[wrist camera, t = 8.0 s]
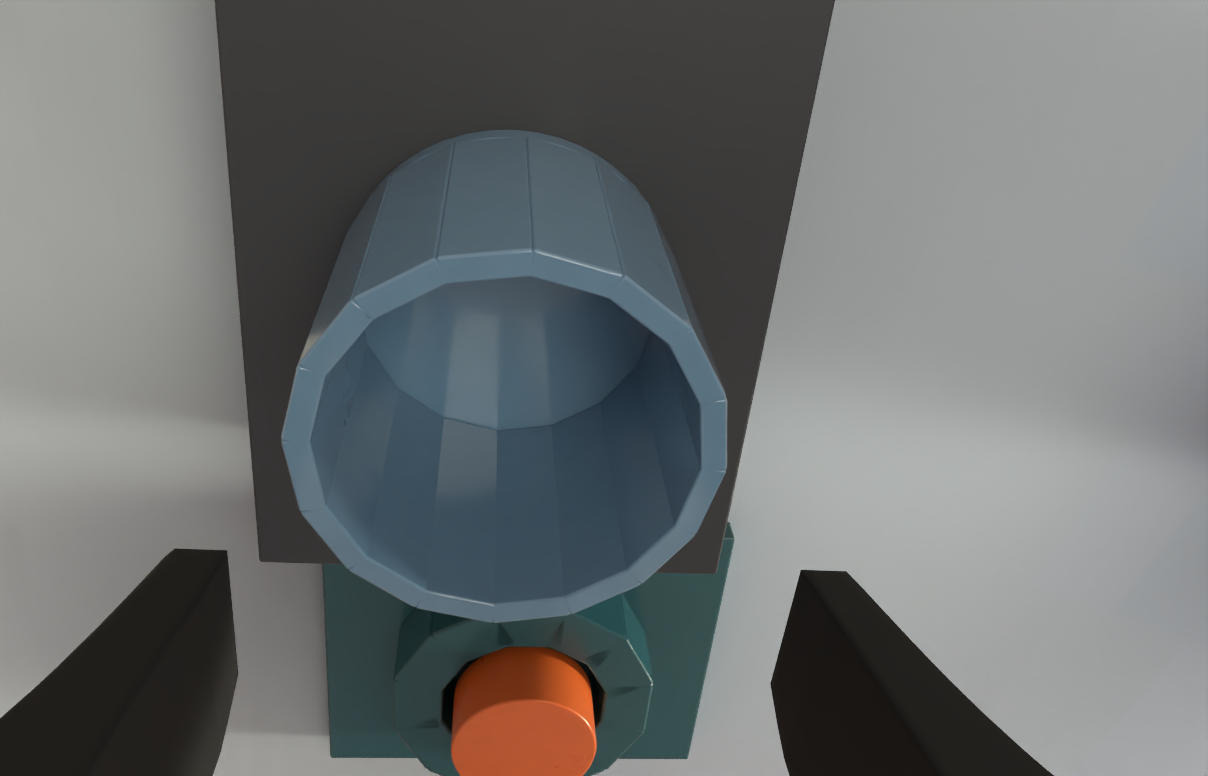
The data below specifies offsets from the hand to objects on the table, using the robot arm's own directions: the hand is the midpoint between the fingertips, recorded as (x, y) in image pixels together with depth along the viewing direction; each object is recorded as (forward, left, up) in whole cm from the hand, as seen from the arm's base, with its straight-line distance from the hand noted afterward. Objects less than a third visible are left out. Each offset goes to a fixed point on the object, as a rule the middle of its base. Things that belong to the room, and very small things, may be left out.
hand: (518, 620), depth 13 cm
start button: (-9, +5, -8) cm, 13 cm away
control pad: (-9, +5, -10) cm, 15 cm away
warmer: (+2, -1, -10) cm, 11 cm away
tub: (+2, -1, -6) cm, 6 cm away
